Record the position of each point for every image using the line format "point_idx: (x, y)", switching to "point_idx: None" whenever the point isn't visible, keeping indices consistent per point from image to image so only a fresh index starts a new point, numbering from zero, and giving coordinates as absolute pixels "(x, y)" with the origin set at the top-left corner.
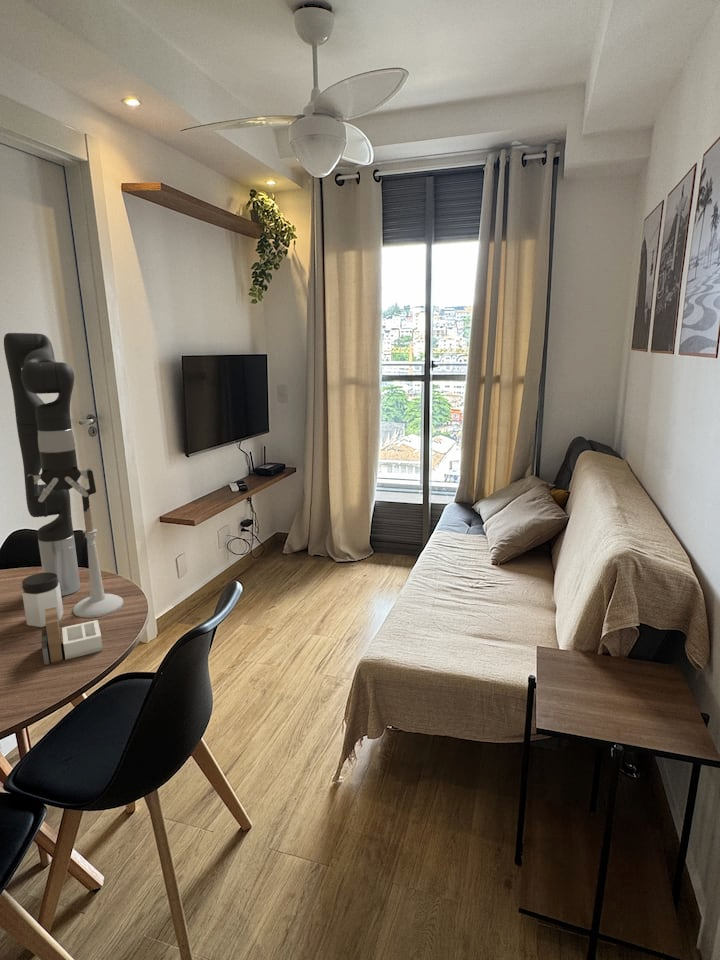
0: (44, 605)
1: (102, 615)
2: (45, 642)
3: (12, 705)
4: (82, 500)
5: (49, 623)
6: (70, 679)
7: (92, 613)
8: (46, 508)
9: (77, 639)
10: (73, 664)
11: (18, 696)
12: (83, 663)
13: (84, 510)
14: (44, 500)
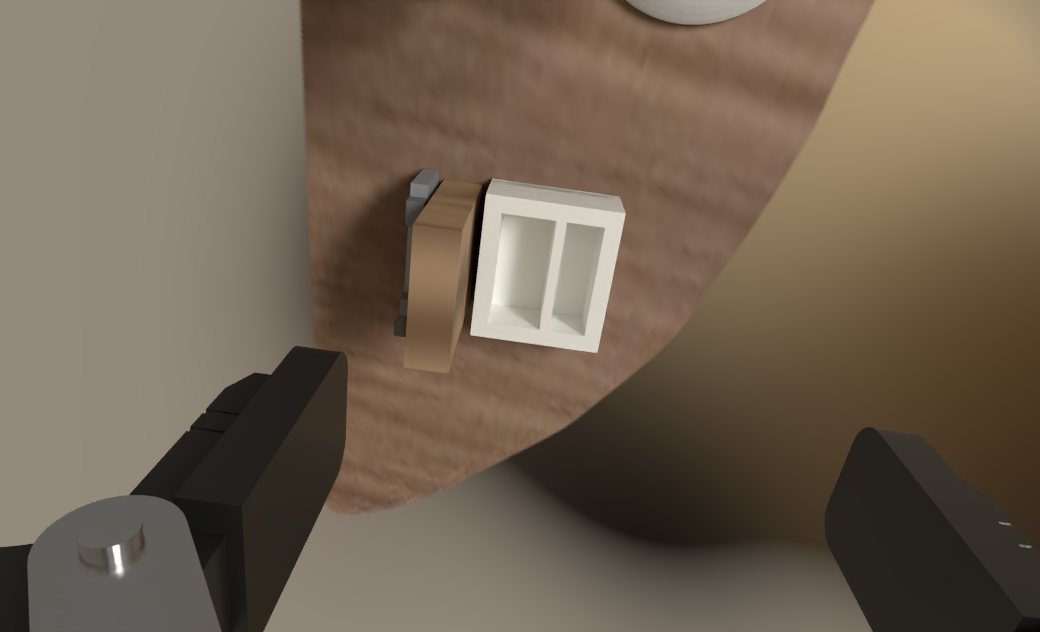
0: None
1: (684, 24)
2: None
3: None
4: (939, 584)
5: (418, 367)
6: (472, 423)
7: (647, 2)
8: (309, 441)
9: (519, 329)
10: (494, 351)
11: None
12: (521, 363)
13: (835, 547)
14: (222, 578)
